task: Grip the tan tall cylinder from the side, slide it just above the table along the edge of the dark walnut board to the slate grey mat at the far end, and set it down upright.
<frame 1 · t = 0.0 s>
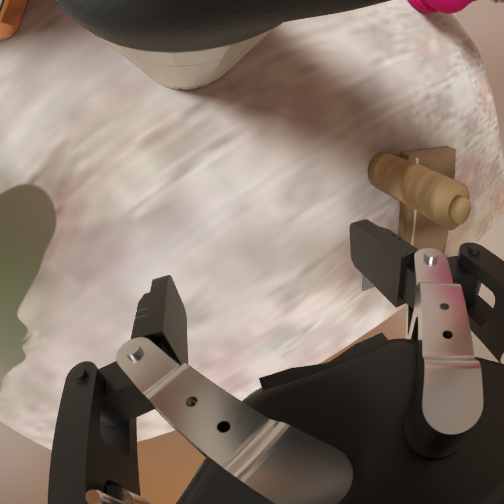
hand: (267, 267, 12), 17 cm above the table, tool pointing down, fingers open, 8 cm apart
whiskey bottle: (1, 7, 9), on the table
walnut board: (423, 215, 35), on the table
tan tall cylinder: (382, 170, 30), on the table
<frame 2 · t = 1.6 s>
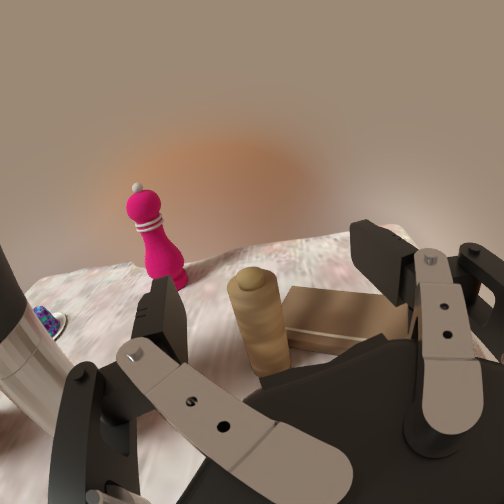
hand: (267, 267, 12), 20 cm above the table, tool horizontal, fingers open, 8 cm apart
pepper mill: (173, 284, 51), on the table
walnut board: (352, 326, 33), on the table
tan tall cylinder: (271, 363, 31), on the table
blue patterned hat: (47, 333, 44), on the table
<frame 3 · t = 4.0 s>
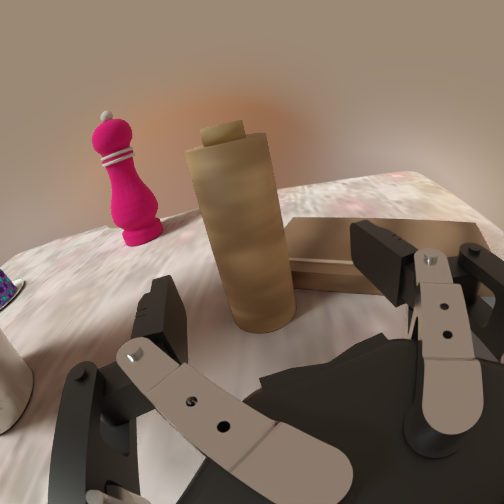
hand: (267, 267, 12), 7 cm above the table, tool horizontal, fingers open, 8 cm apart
end mat: (460, 328, 13), on the table
pepper mill: (144, 237, 40), on the table
walnut board: (383, 258, 22), on the table
tan tall cylinder: (264, 310, 20), on the table
blue patterned hat: (3, 302, 33), on the table
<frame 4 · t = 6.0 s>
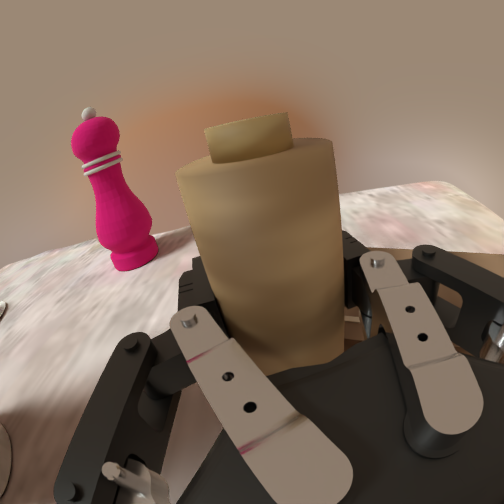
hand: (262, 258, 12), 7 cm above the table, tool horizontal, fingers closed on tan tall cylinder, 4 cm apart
pepper mill: (137, 259, 34), on the table
walnut board: (441, 307, 15), on the table
tan tall cylinder: (298, 392, 13), on the table, touching gripper
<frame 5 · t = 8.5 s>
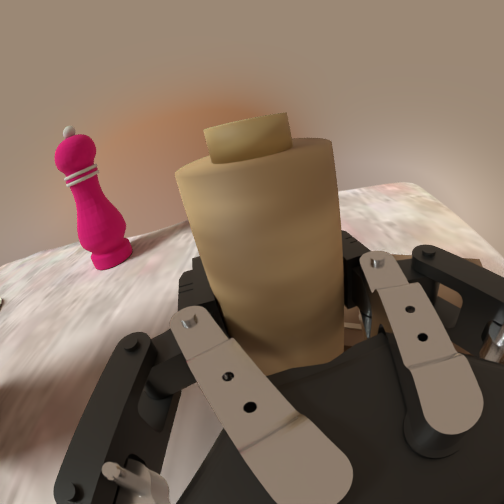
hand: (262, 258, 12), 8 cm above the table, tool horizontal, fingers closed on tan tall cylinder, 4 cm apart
pepper mill: (114, 259, 37), on the table
walnut board: (362, 308, 19), on the table
tan tall cylinder: (298, 392, 13), point 1 cm above the table, touching gripper
when the fingers open (7 cm above the table, at t = 11.2 s): tan tall cylinder stays where it is, resting on end mat.
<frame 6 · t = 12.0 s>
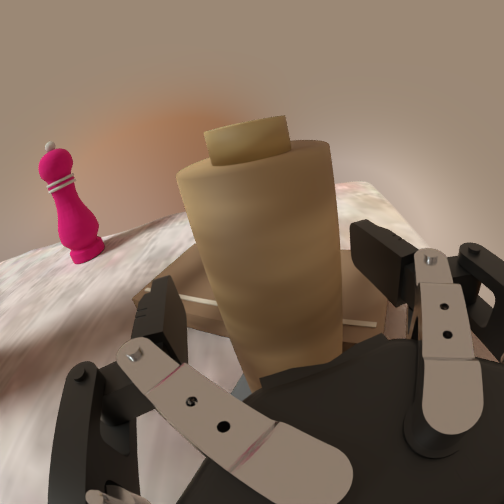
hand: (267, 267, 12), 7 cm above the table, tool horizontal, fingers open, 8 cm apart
end mat: (297, 394, 14), on the table
pepper mill: (89, 255, 41), on the table
walnut board: (260, 294, 22), on the table
tan tall cylinder: (297, 391, 13), resting on end mat
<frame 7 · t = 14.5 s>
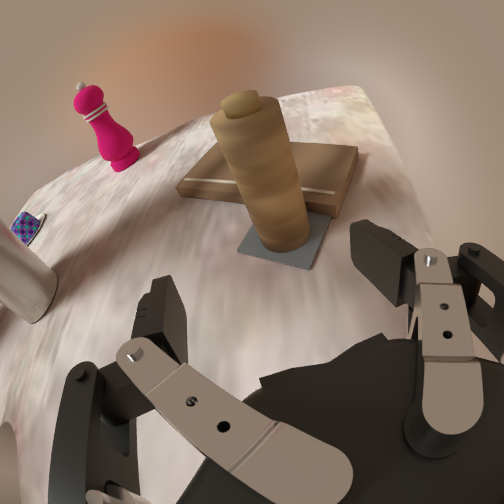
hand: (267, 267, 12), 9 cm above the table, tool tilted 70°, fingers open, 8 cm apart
end mat: (285, 234, 25), on the table
pepper mill: (127, 162, 50), on the table
walnut board: (265, 175, 32), on the table
tan tall cylinder: (285, 232, 25), resting on end mat
blue patterned hat: (31, 235, 50), on the table
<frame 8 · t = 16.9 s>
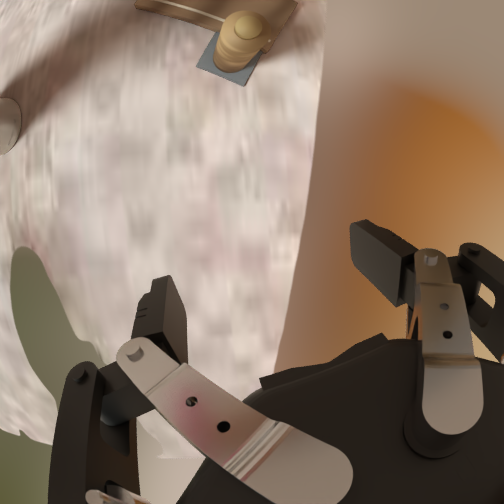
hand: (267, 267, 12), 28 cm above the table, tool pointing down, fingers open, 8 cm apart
end mat: (229, 58, 30), on the table
walnut board: (216, 0, 25), on the table
tan tall cylinder: (230, 58, 30), resting on end mat
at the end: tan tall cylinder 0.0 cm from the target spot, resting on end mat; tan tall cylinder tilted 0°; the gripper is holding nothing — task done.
